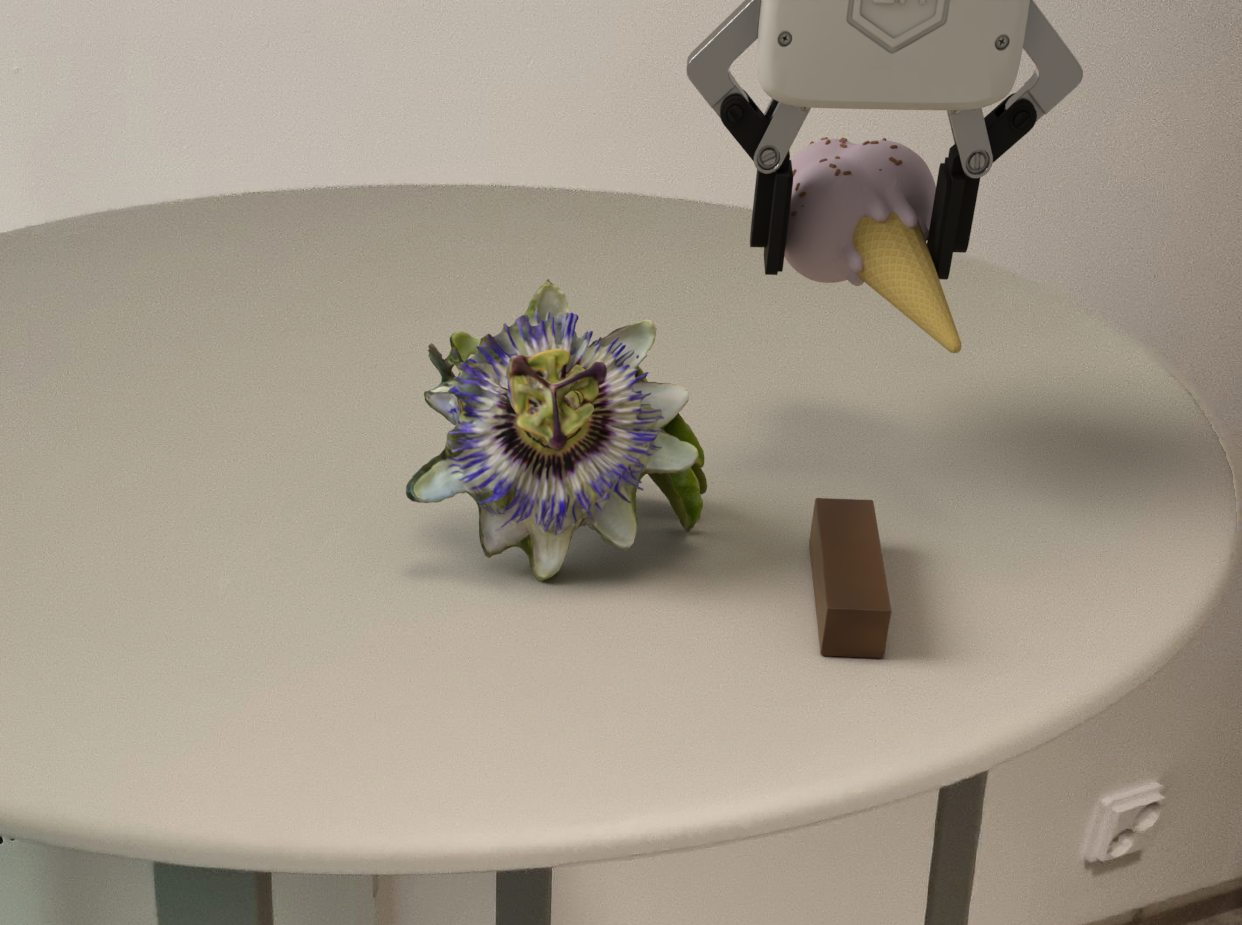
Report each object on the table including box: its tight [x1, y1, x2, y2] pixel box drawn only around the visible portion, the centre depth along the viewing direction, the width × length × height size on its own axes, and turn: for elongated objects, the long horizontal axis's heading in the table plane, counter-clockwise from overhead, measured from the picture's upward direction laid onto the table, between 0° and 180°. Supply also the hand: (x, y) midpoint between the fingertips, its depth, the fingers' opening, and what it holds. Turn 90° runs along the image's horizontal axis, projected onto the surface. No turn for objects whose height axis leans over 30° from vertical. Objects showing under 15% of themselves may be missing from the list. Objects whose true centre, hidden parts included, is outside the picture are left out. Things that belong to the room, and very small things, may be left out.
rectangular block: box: [808, 497, 892, 659], centre depth 76 cm, size 2×10×2 cm, turn 173°
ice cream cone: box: [784, 136, 962, 354], centre depth 81 cm, size 6×7×15 cm
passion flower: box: [405, 278, 708, 581], centre depth 79 cm, size 11×11×12 cm
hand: (854, 263), depth 81 cm, fingers closed on ice cream cone, 6 cm apart
